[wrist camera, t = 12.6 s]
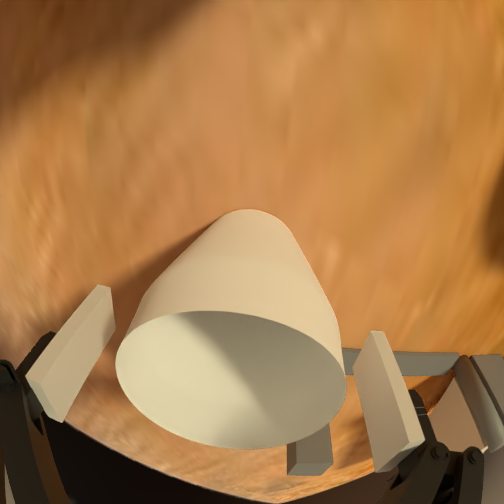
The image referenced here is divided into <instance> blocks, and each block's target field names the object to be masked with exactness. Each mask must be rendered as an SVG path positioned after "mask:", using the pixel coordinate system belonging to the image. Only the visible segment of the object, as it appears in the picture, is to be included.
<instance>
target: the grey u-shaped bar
mask: <svg viewBox="0 0 504 504" xmlns="http://www.w3.org/2000/svg"><path fill="white" fill-rule="evenodd" d="M341 349H342V357H343V364H344V371H345V375H354V373H353V369H352V367H353V365H354V363H355V361H356V359H357V357H358V355H359V353H360V351H361V349H350V348H341ZM392 352H393V354H394V357H395V359H396V362H397V364H398V367H399V369H400V372H401V374H402V376H434V375H446V374H447V373H448V372H449V370H450V369H451V368H453V370H454V372H455V374H456V376H457V378H458V380H459V382H460V384H461V386H462V388H463V390H464V392H465V394H466V397H467V399H468V401H469V403H470V405H471V407H472V410H473V412H474V414H475V416H476V419H477V421H478V424H479V426H480V428H481V431H482V433H483V436H484V438H485V441H486V443H487V446H488V449H489V451H490V453H492V452H494V451H495V450H497V449H499V448H501V447H502V446H503V445H504V359H503V357H502V356H501V354H494V355H472V357H471V358H470V359H469V358H468V356H467V355H463V356H460V355H459V353H434V352H398V351H392ZM459 356H460V357H459ZM332 464H333V454H332V444H331V435H330V427H329V423H328V424H327V425H325V426H324V427H323V428H321V429H320V430H318V431H317V432H315V433H313V434H312V435H310V436H308V437H305V438H303V439H301V440H298V441H295V442H292V443H289V444H287V475H296V476H320V475H322V474H323V473H324V472H325V471H326V470H327V469H328V468H329V467H330V466H331V465H332Z"/></svg>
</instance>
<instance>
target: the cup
mask: <svg viewBox="0 0 504 504" xmlns="http://www.w3.org/2000/svg"><path fill="white" fill-rule="evenodd" d="M115 364H116V373H117V378H118V381H119V383H120V385H121V388H122V389H123V391H124V393H125V394H126V396H127V397H128V399H129V400H130V401H131V402H132V404H133V405H134V406H135V407H136V408H137V409H138V410H139V411H140V412H141V413H143V414H144V415H145V416H146V417H147V418H149V419H150V420H151V421H153V422H154V423H156V424H157V425H159V426H161V427H162V428H164V429H166V430H168V431H170V432H172V433H174V434H176V435H178V436H181V437H183V438H186V439H189V440H192V441H195V442H198V443H202V444H206V445H210V446H215V447H221V448H230V449H263V448H271V447H276V446H281V445H285V444H289V443H292V442H295V441H298V440H301V439H303V438H305V437H308V436H310V435H312V434H313V433H315V432H317V431H318V430H320V429H321V428H323V427H324V426H325V425H327V424H328V423H329V422H330V421H331V420H332V419H333V418H334V417H335V416H336V414H337V413H338V412H339V410H340V408H341V407H342V405H343V402H344V400H345V396H346V378H345V371H344V364H343V357H342V349H341V341H340V333H339V326H338V323H337V319H336V316H335V314H334V311H333V309H332V307H331V305H330V303H329V301H328V299H327V297H326V295H325V293H324V291H323V289H322V287H321V285H320V284H319V282H318V280H317V278H316V276H315V274H314V272H313V271H312V269H311V267H310V265H309V263H308V261H307V260H306V258H305V256H304V254H303V252H302V251H301V249H300V247H299V245H298V243H297V242H296V240H295V238H294V236H293V234H292V233H291V231H290V230H289V229H288V227H287V226H286V225H285V224H284V223H283V222H282V221H280V220H279V219H278V218H276V217H275V216H273V215H271V214H268V213H266V212H263V211H259V210H252V209H245V210H237V211H233V212H230V213H228V214H225V215H223V216H222V217H220V218H219V219H217V220H216V221H215V222H214V223H213V224H212V225H211V226H210V227H209V228H208V229H206V230H205V231H204V232H203V233H202V234H201V235H200V236H199V237H198V238H197V239H196V240H195V241H194V242H193V243H192V244H191V245H190V246H189V247H188V248H187V249H186V250H185V251H184V252H183V253H182V254H181V255H180V256H178V257H177V258H176V259H175V260H174V261H173V262H172V263H171V264H170V265H169V266H168V267H167V268H166V269H165V270H164V271H163V273H162V274H161V275H160V276H159V277H158V278H157V279H156V280H155V281H154V282H153V283H152V284H151V286H150V287H149V288H148V290H147V291H146V292H145V294H144V296H143V297H142V299H141V301H140V304H139V306H138V309H137V311H136V313H135V316H134V318H133V320H132V322H131V324H130V326H129V328H128V330H127V332H126V335H125V337H124V339H123V341H122V343H121V345H120V347H119V349H118V352H117V355H116V362H115Z"/></svg>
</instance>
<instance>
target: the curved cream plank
mask: <svg viewBox="0 0 504 504" xmlns="http://www.w3.org/2000/svg"><path fill="white" fill-rule="evenodd" d="M429 420H430V422H431V425H432V428H433V431H434V434H435V436H436V439H437V441H438V442H441V443H443V444H445V445H446V446H447V447H448V449H449V450H450V451H457V452H463V451H464V450H466V449H467V448H468V447H470V446H475V447H477V448H479V449H480V450H481V451H482V453H483V452H484V451H485V450H486V449H487V448H488V446H487V443H486V441H485V438H484V436H483V433H482V431H481V428H480V426H479V424H478V421H477V419H476V416H475V414H474V412H473V410H472V407H471V405H470V403H469V401H468V399H467V397H466V394H465V392H464V390H463V388H462V386H461V384H460V382H459V380H458V378H457V377H454V378H453V380H452V382H451V383H450V385H449V387H448V388H447V390H446V391H445V393H444V395H443V396H442V398H441V399H440V401H439V402H438V404H437V405H436V407H435V408H434V410H433V411H432V413H431V414H430V415H429Z"/></svg>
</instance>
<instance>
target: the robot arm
mask: <svg viewBox="0 0 504 504" xmlns="http://www.w3.org/2000/svg"><path fill="white" fill-rule="evenodd" d="M115 330H116V325H115V318H114V311H113V304H112V296H111V288H110V287H106V286H102V285H97V286H96V287H95V288H94V290H93V291H92V292H91V293H90V294H89V295H88V296H87V298H86V299H85V300H84V301H83V302H82V303H81V305H80V306H79V307H78V308H77V309H76V311H75V312H74V313H73V314H72V315H71V317H70V318H69V319H68V320H67V322H66V323H65V324H64V325H63V327H62V328H61V329H60V330H59V332H58V333H54V332H51V331H50V332H48V333H47V334H45V335H44V336H42V337H41V338H40V340H39V341H38V342H37V343H36V346H34V347H33V348H32V350H31V352H29V353H28V355H27V356H26V357H25V359H24V360H23V361H22V363H21V364H20V365H19V367H18V368H17V369H16V371H15V369H14V367H13V365H12V364H11V363H10V362H9V361H7V360H0V504H6V497H5V470H4V469H5V468H4V466H6V470H7V475H8V479H9V483H10V486H11V490H12V494H13V497H14V500H15V504H70V503H69V500H68V498H67V496H66V493H65V490H64V488H63V485H62V482H61V480H60V477H59V474H58V471H57V468H56V465H55V462H54V459H53V456H52V452H51V449H50V446H49V442H48V439H47V435H46V431H45V427H44V422H43V418H42V416H41V413H42V411H43V409H44V410H45V412H46V414H47V415H48V416H49V417H50V418H53V419H55V420H57V421H59V422H61V423H62V422H63V420H64V418H65V417H66V415H67V413H68V411H69V409H70V407H71V405H72V404H73V402H74V400H75V398H76V396H77V394H78V393H79V391H80V389H81V387H82V385H83V384H84V382H85V380H86V378H87V377H88V375H89V373H90V372H91V370H92V368H93V366H94V365H95V363H96V361H97V360H98V358H99V356H100V355H101V353H102V351H103V350H104V348H105V346H106V345H107V343H108V341H109V340H110V338H111V337H112V335H113V333H114V332H115ZM352 369H353V373H354V377H355V381H356V385H357V389H358V393H359V397H360V402H361V406H362V410H363V415H364V419H365V424H366V428H367V433H368V438H369V442H370V447H371V452H372V457H373V463H374V468H375V472H385V471H391V470H392V469H393V468H394V467H395V466H397V465H398V469H399V471H398V472H396V473H395V474H394V475H392V476H391V477H390V478H389V479H388V480H387V481H388V482H389V481H390V480H392V481H391V482H390V484H389V486H388V487H387V489H386V490H385V492H384V494H383V495H382V497H381V498H380V500H379V501H378V503H377V504H481V500H482V490H483V476H484V455H483V453H482V451H481V450H480V449H479V448H477V447H475V446H470V447H468V448H467V449H466V450H464V451H463V452H457V451H450V450H449V449H448V447H447V446H446V445H445V444H443V443H441V442H438V441H437V439H436V436H435V434H434V431H433V428H432V425H431V422H430V420H429V417H428V415H427V412H426V409H425V408H424V404H423V401H422V399H421V397H420V396H419V394H418V393H417V392H416V391H415V390H407V387H406V384H405V382H404V379H403V377H402V374H401V372H400V369H399V367H398V364H397V362H396V359H395V357H394V354H393V352H392V350H391V347H390V345H389V343H388V340H387V338H386V336H385V333H384V331H372V330H371V331H370V333H369V335H368V337H367V339H366V341H365V344H364V346H363V348H362V349H361V351H360V353H359V355H358V357H357V359H356V361H355V363H354V365H353V367H352Z"/></svg>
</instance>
